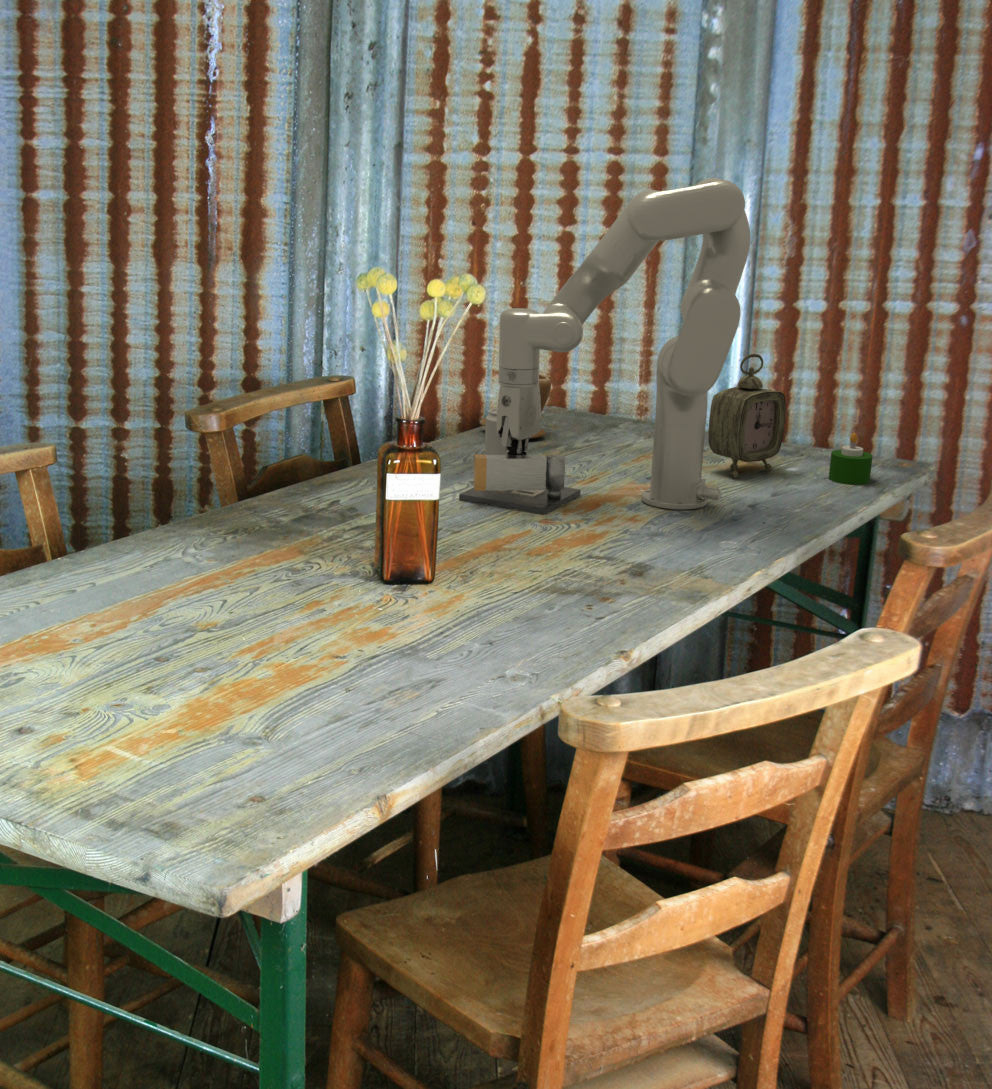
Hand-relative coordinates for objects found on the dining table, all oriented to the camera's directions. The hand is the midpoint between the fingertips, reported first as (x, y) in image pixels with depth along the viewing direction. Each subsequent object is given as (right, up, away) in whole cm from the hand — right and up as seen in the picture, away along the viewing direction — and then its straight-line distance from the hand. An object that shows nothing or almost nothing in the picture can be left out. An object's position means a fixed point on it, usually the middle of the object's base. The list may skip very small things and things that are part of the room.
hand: (516, 471), depth 252 cm
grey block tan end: (+1, -3, -3) cm, 5 cm away
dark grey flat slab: (+1, -5, +2) cm, 5 cm away
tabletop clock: (+47, +1, +26) cm, 54 cm away
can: (-3, +2, +25) cm, 25 cm away
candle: (+69, -1, +24) cm, 73 cm away
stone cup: (+1, +11, +54) cm, 55 cm away
